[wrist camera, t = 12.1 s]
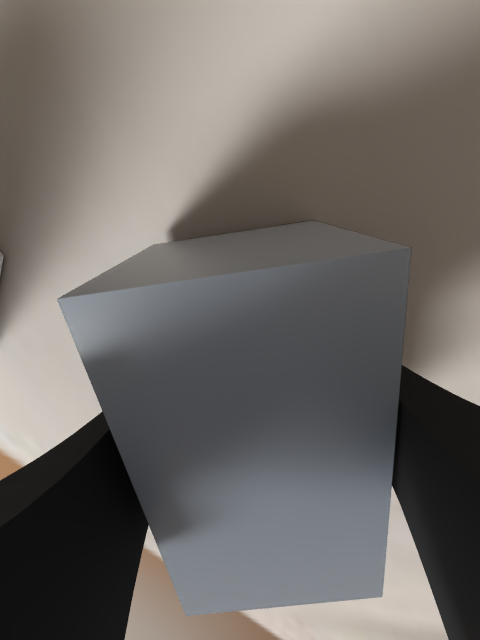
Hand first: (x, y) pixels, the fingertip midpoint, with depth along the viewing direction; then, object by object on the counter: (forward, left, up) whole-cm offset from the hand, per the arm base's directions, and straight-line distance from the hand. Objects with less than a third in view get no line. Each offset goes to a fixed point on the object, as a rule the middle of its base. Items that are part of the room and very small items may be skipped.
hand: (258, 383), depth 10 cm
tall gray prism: (0, 0, -3) cm, 3 cm away
